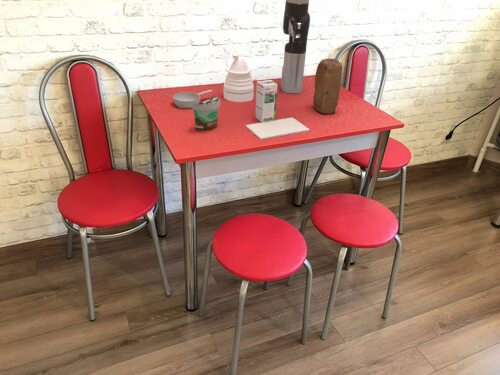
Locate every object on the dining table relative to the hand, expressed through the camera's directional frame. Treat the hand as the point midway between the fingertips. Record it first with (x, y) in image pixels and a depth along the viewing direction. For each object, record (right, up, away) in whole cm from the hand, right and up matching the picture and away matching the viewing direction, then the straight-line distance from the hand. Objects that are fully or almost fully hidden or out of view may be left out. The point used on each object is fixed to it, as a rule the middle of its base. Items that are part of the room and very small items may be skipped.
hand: (293, 49), depth 150 cm
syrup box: (-10, -23, +10) cm, 27 cm away
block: (+14, -18, +21) cm, 31 cm away
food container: (-30, -27, +2) cm, 41 cm away
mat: (-5, -28, +3) cm, 28 cm away
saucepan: (-38, -15, +22) cm, 47 cm away
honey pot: (-20, -10, +30) cm, 38 cm away
